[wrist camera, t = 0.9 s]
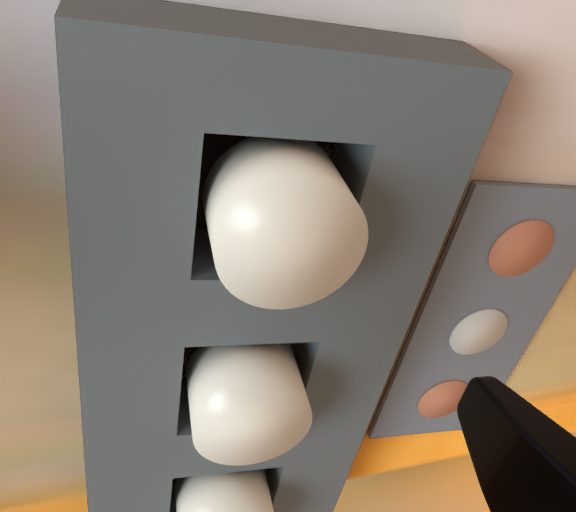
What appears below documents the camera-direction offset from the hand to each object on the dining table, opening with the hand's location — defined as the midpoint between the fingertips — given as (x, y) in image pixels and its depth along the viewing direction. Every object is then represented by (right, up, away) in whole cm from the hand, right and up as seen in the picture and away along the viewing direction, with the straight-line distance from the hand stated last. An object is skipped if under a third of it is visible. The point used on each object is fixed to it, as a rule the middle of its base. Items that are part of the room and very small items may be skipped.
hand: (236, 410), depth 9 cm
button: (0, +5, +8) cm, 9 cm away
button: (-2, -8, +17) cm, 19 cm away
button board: (-1, -1, +14) cm, 14 cm away
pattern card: (+10, -1, +17) cm, 20 cm away
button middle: (-1, -2, +13) cm, 13 cm away
